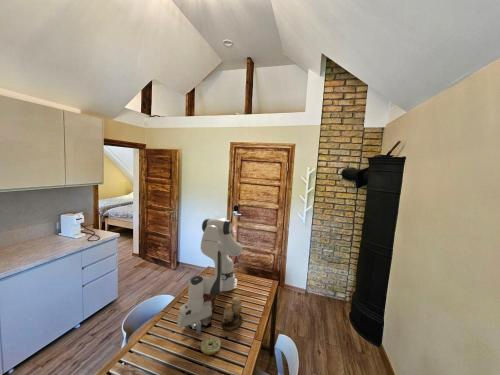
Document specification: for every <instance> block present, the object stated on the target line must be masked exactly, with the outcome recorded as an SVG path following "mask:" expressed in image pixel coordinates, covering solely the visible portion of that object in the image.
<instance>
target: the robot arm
mask: <svg viewBox="0 0 500 375" xmlns="http://www.w3.org/2000/svg"><path fill="white" fill-rule="evenodd" d="M201 230H202V232H203V233H202V237H201V242H200V250H201V253H202V254H203V255H205V256H206V257H208V258H210V259H211V260H212V261H213V262H214V277H211V276H206V275H204V276H203V275H195V276H192V277H191V278H190V280H189V283H188V292H187V294H188V299H187V301H186V302H185V303H184V304H182V305H181V306H180V307H179V309H178V310H179V312H178V314H177V315H178V316H177V322H176V323H177V326H178V327H179V329H182V328H186V327H185V326H187V325H190V324H192V326H191V328H192V329H193V330H196V329H195V328H197V327H198V324H199V322H200V320H202V319H204V318H206V317H209V316H211V314H212V315H213V311H212V309H211V304H212V303H211V301H206V302H204V299H203V294H210V295H213V296H216V297H217V296H218V295H220V294H221V293H222V292H229V291H232V290H236V289H237V286H238V279H237V278H236V274H235V273H234V270H235V268H234V261H233V259H232V258H231V257H230V256H232V257H239V256H240V255H241V254H242V253H243V245H242V244H241V243H239V242H238V241H237V240H236V239H235V238H234V237H233V235H232V230H233V223H232V221H231V220H229V219H226V218H224V217H222V218H205V219H204V220H203V221H202V224H201ZM194 322H196V323H195V324H194Z"/></svg>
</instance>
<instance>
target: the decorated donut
mask: <svg viewBox="0 0 500 375" xmlns="http://www.w3.org/2000/svg"><path fill="white" fill-rule="evenodd" d="M220 349H221V340H220V339H219V338H218V337H215V336H207V337H206V338H203V339H202V341H201V342H200V351H201V352H202V353H203V354H204V355H208V356H212V355H215V354H216V353H218V352H219V350H220Z"/></svg>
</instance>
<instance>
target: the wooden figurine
mask: <svg viewBox="0 0 500 375" xmlns="http://www.w3.org/2000/svg"><path fill="white" fill-rule="evenodd" d="M203 299H204V302H206V301H211V303H212V304H211V307H213V309H212V312H214V310H215V309H216V302H215V301H216V299H217V296H213V295H210V294H203Z"/></svg>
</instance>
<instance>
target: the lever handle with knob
mask: <svg viewBox="0 0 500 375" xmlns="http://www.w3.org/2000/svg"><path fill="white" fill-rule="evenodd" d="M194 324H195V323H194ZM190 325H191V326H190V327H192V324H190ZM194 330H196V335H197V336H200V335H201V334H202V325H201V321H200V322H199V324H198V327H197V328H195V329H194Z"/></svg>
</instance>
